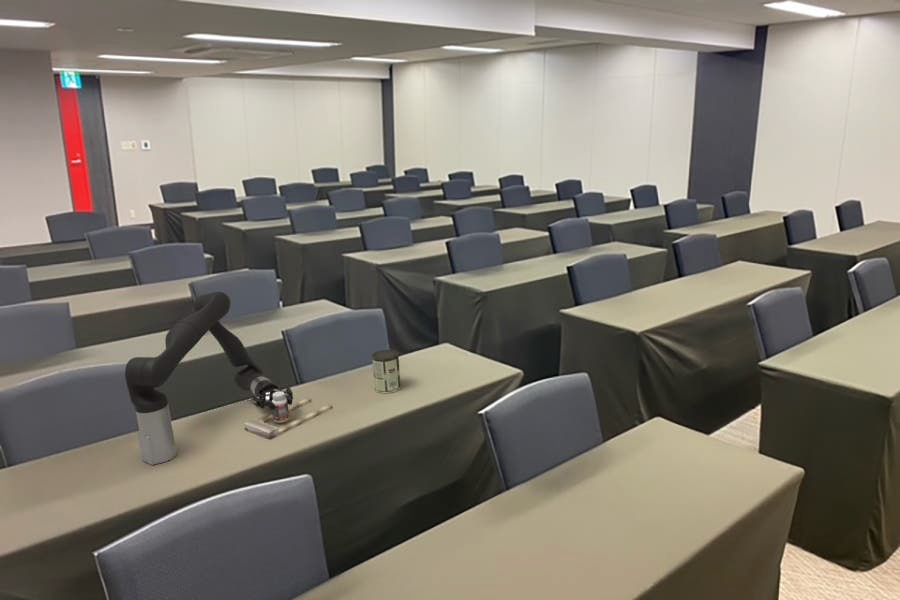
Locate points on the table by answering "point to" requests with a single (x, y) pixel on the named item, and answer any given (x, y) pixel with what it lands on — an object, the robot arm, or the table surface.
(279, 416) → the pill bottle
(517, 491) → the table surface
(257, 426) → the keeper track
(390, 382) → the coffee can
